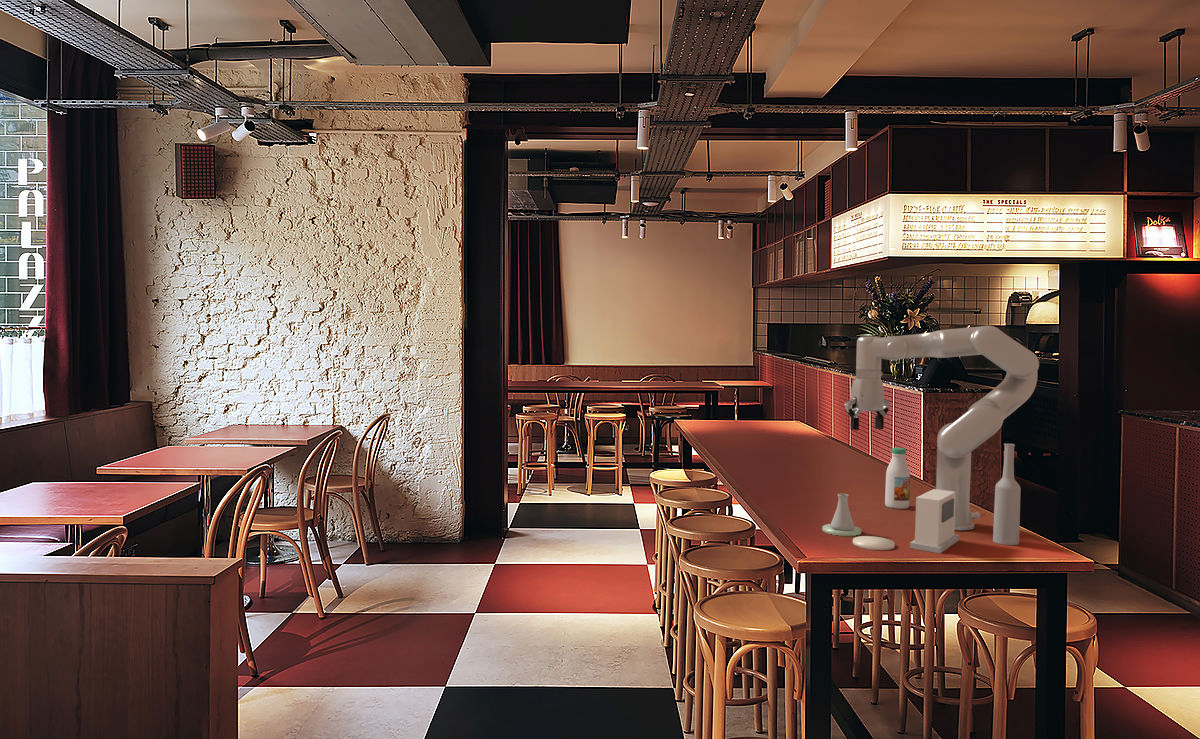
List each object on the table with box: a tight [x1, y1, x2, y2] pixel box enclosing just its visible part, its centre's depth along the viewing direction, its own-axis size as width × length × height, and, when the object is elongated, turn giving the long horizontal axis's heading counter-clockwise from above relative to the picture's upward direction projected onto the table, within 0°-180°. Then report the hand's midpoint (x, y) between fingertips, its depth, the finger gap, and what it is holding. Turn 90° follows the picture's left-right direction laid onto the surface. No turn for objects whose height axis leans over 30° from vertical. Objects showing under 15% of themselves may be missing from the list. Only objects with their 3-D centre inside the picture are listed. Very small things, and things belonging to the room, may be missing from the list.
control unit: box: [909, 488, 960, 554], centre depth 224 cm, size 8×18×14 cm, turn 141°
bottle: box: [992, 443, 1022, 546], centre depth 226 cm, size 7×7×28 cm
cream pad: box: [852, 535, 895, 551], centre depth 223 cm, size 11×11×1 cm
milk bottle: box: [884, 447, 911, 510], centre depth 271 cm, size 8×8×20 cm
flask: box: [829, 493, 856, 530], centre depth 237 cm, size 7×7×10 cm
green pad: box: [821, 523, 862, 537], centre depth 237 cm, size 11×11×1 cm
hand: (866, 429), depth 254 cm, fingers open, 9 cm apart
